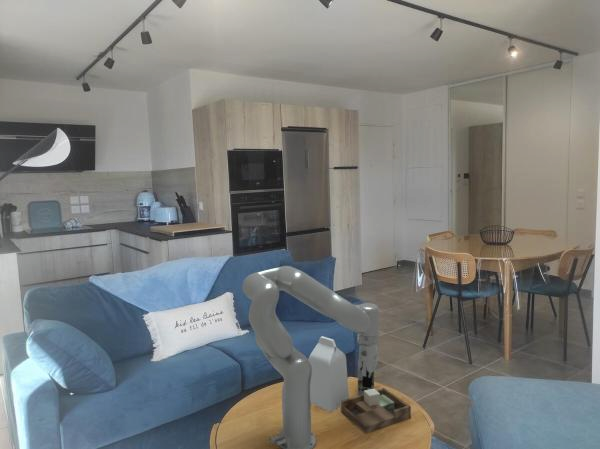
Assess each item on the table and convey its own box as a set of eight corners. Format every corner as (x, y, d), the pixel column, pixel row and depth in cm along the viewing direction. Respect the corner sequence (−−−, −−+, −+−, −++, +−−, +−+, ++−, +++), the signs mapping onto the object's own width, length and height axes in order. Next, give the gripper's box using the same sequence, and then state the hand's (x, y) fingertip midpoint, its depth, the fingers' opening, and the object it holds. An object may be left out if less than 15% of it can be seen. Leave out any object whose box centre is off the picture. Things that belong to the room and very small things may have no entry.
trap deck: (366, 433, 155) (366, 421, 154) (341, 412, 169) (341, 401, 168) (410, 417, 164) (410, 406, 163) (383, 398, 178) (383, 387, 177)
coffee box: (373, 398, 178) (373, 360, 176) (357, 397, 179) (357, 359, 177) (374, 387, 187) (374, 350, 185) (359, 386, 188) (358, 350, 186)
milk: (307, 401, 177) (305, 339, 174) (325, 390, 185) (324, 330, 182) (331, 412, 169) (329, 346, 166) (349, 400, 177) (348, 337, 174)
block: (369, 406, 168) (369, 396, 167) (363, 400, 172) (363, 390, 172) (380, 403, 169) (380, 393, 169) (374, 398, 174) (374, 388, 173)
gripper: (373, 347, 152) (372, 398, 154) (383, 332, 166) (382, 379, 168) (351, 343, 155) (351, 393, 157) (363, 329, 169) (362, 376, 171)
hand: (367, 386), depth 162 cm, fingers closed
